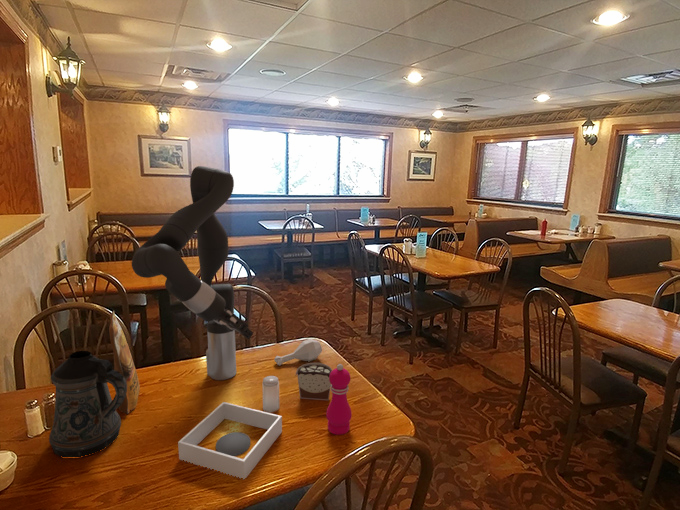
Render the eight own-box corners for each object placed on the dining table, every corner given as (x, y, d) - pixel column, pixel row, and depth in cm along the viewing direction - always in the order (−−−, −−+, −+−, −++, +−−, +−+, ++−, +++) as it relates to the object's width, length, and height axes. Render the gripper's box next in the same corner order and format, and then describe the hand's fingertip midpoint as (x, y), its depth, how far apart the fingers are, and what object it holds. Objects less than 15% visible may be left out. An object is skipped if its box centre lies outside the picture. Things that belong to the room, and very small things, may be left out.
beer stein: (58, 428, 115) (46, 345, 110) (135, 413, 123) (127, 335, 117) (43, 467, 100) (28, 374, 95) (131, 447, 108) (122, 360, 103)
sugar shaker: (259, 410, 126) (259, 382, 124) (268, 401, 130) (267, 374, 128) (274, 413, 124) (274, 385, 122) (282, 404, 129) (281, 377, 126)
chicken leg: (273, 360, 159) (271, 347, 154) (316, 345, 165) (315, 331, 160) (279, 377, 153) (277, 363, 148) (324, 361, 159) (323, 347, 154)
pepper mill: (354, 423, 120) (356, 360, 116) (346, 438, 113) (348, 372, 109) (331, 418, 122) (332, 356, 118) (322, 432, 116) (323, 367, 111)
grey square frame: (179, 459, 104) (178, 442, 103) (224, 416, 122) (223, 401, 121) (244, 479, 98) (244, 461, 97) (281, 431, 116) (281, 416, 115)
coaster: (208, 451, 107) (208, 449, 107) (228, 431, 115) (228, 429, 115) (238, 460, 104) (238, 458, 104) (256, 438, 113) (256, 436, 112)
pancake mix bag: (110, 419, 119) (100, 330, 113) (119, 386, 137) (111, 307, 131) (136, 415, 122) (127, 327, 116) (142, 383, 139) (134, 305, 133)
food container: (335, 390, 137) (335, 363, 135) (333, 400, 131) (333, 372, 129) (299, 387, 138) (299, 360, 136) (295, 398, 132) (295, 369, 130)
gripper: (226, 293, 102) (264, 327, 112) (198, 284, 112) (235, 315, 122) (207, 318, 99) (248, 350, 109) (180, 306, 109) (220, 337, 119)
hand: (241, 332), depth 115 cm, fingers open, 8 cm apart
